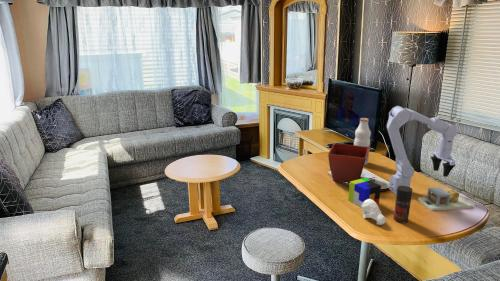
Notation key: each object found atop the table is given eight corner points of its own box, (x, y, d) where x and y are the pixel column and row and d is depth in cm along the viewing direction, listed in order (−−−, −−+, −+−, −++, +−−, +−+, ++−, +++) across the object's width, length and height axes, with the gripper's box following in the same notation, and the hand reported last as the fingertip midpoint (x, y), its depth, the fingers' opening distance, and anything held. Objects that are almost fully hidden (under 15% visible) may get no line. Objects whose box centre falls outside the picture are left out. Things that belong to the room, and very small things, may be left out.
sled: (435, 204, 174) (436, 195, 172) (429, 200, 178) (430, 190, 177) (458, 202, 176) (460, 193, 174) (452, 198, 180) (453, 189, 178)
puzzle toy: (362, 209, 172) (365, 189, 169) (348, 200, 181) (349, 181, 177) (378, 204, 176) (381, 185, 173) (363, 196, 185) (365, 177, 182)
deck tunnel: (431, 210, 171) (433, 197, 169) (417, 199, 181) (419, 187, 179) (472, 207, 174) (475, 194, 172) (456, 197, 184) (459, 184, 182)
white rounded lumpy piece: (372, 195, 165) (392, 209, 156) (368, 212, 169) (388, 226, 159) (361, 198, 163) (381, 213, 153) (358, 215, 166) (377, 230, 156)
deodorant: (391, 216, 165) (395, 185, 161) (403, 216, 166) (408, 185, 161) (397, 223, 160) (401, 191, 155) (410, 222, 160) (415, 191, 156)
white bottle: (349, 162, 229) (353, 118, 220) (357, 159, 235) (361, 116, 226) (362, 166, 222) (367, 121, 214) (370, 162, 228) (375, 118, 220)
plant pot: (325, 182, 200) (327, 153, 195) (332, 170, 217) (334, 142, 212) (362, 188, 193) (365, 158, 188) (365, 175, 210) (368, 147, 205)
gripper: (462, 152, 176) (457, 178, 180) (443, 143, 190) (438, 167, 194) (449, 153, 175) (444, 179, 179) (430, 143, 189) (426, 168, 193)
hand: (440, 173), depth 187 cm, fingers open, 7 cm apart
